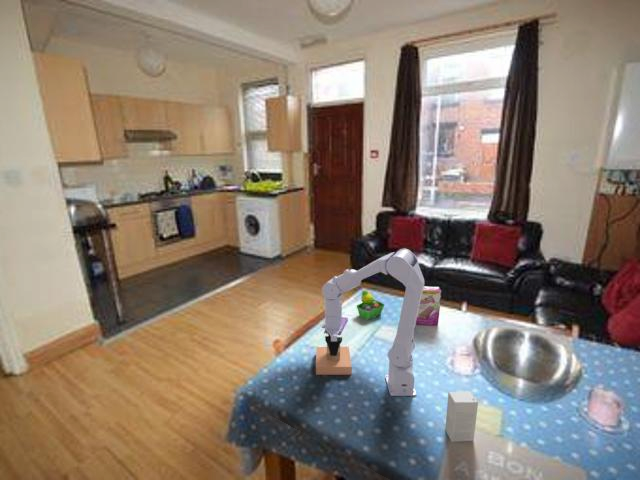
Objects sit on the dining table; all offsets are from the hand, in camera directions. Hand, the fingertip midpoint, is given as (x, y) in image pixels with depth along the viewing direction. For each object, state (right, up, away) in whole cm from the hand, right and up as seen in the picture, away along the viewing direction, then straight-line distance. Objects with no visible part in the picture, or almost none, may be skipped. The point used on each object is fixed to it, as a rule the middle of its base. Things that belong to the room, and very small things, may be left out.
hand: (333, 348), depth 116 cm
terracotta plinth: (0, -6, +1) cm, 6 cm away
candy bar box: (+41, +2, +29) cm, 51 cm away
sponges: (+3, 0, +28) cm, 28 cm away
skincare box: (+32, -14, -29) cm, 45 cm away
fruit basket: (+18, +3, +37) cm, 42 cm away
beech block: (0, -3, +1) cm, 3 cm away
